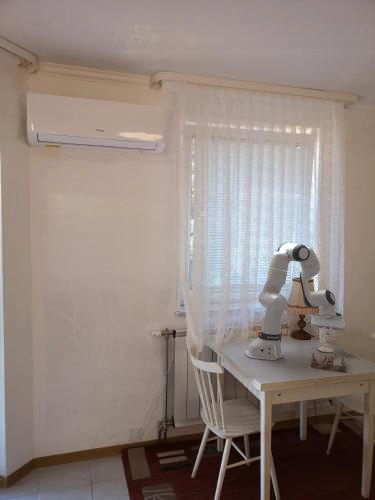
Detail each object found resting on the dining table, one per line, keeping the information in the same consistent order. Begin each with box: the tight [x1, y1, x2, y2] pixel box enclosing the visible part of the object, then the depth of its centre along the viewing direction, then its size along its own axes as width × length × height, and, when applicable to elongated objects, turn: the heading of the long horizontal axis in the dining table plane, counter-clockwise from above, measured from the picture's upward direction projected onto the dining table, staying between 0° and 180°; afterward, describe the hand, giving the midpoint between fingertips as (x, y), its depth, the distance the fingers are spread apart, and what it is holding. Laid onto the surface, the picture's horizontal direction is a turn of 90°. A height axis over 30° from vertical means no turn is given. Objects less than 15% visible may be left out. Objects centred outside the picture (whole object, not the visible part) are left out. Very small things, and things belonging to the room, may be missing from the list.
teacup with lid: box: [316, 343, 338, 365], centre depth 206 cm, size 12×9×12 cm
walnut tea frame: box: [310, 352, 346, 373], centre depth 207 cm, size 17×18×3 cm
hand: (327, 334), depth 224 cm, fingers closed
